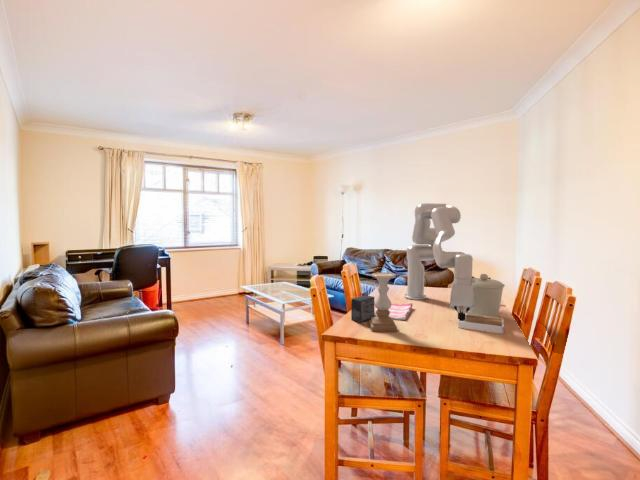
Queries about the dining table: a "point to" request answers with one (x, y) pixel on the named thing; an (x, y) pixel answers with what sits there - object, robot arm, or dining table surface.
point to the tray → (481, 326)
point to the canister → (487, 296)
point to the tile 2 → (493, 320)
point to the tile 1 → (475, 318)
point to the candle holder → (382, 306)
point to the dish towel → (398, 311)
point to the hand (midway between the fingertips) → (461, 321)
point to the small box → (362, 308)
